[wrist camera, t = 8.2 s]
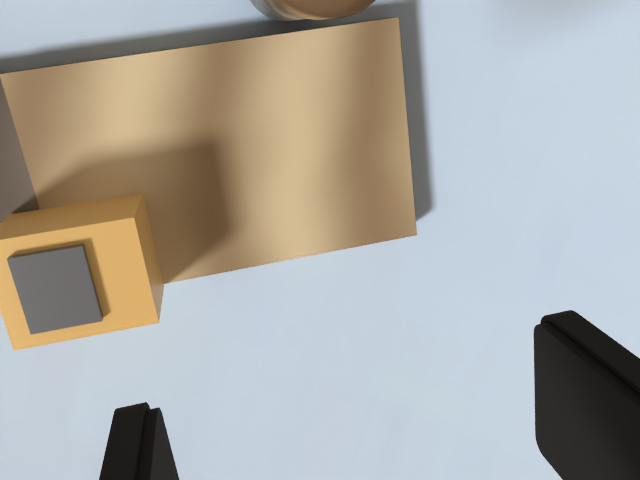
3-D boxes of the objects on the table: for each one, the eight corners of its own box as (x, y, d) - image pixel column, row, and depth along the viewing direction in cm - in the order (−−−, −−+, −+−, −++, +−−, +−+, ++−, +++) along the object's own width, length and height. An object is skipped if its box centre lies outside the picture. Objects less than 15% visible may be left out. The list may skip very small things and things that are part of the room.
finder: (142, 192, 24) (133, 219, 20) (163, 286, 25) (158, 326, 22) (9, 214, 23) (-25, 246, 20) (38, 308, 25) (11, 354, 21)
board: (389, 18, 25) (398, 17, 24) (408, 227, 28) (417, 234, 27) (-201, 102, 22) (-223, 105, 21) (-109, 325, 25) (-124, 339, 24)
